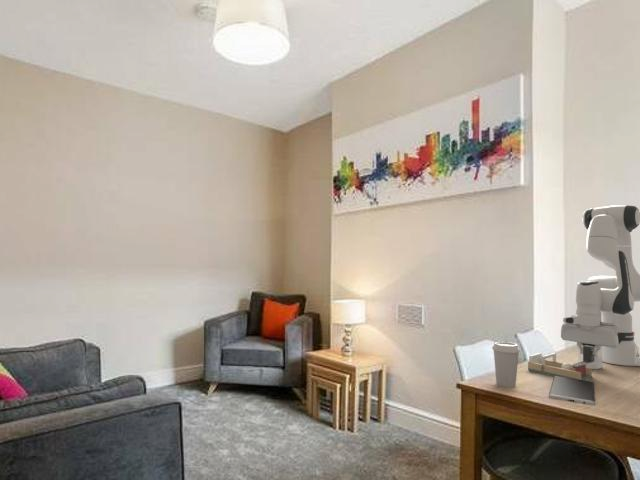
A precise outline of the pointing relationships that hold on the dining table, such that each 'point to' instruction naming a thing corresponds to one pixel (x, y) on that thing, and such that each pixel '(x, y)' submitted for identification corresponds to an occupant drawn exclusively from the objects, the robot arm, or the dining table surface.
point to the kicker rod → (584, 359)
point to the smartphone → (573, 390)
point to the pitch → (554, 367)
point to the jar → (597, 359)
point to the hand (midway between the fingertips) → (588, 354)
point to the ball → (567, 366)
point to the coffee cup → (506, 363)
